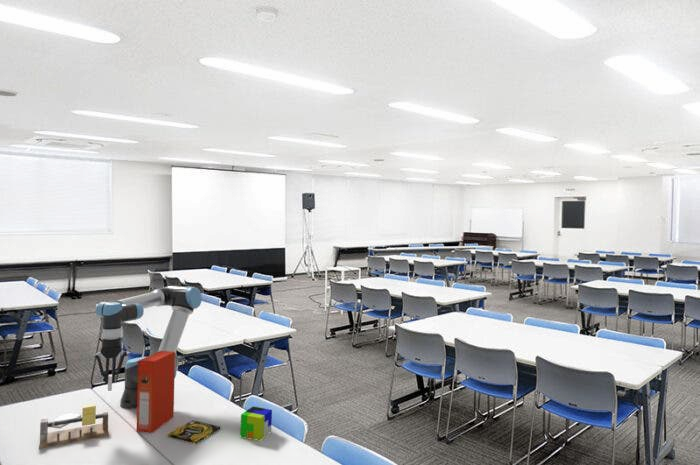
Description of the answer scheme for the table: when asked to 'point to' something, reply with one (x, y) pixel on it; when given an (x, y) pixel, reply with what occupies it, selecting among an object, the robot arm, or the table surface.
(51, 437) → the comb stand
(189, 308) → the robot arm
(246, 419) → the puzzle toy
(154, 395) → the file binder
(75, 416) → the external hard drive
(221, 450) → the table surface
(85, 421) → the sleeve
